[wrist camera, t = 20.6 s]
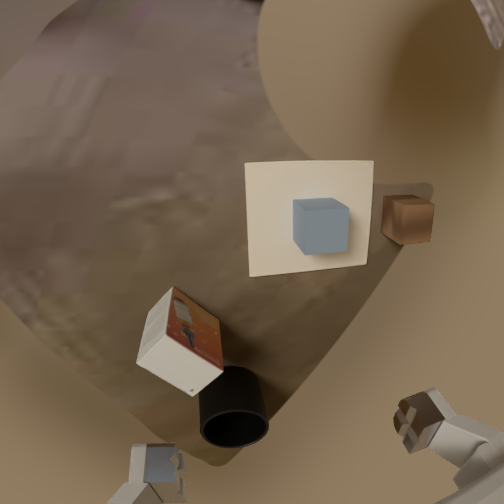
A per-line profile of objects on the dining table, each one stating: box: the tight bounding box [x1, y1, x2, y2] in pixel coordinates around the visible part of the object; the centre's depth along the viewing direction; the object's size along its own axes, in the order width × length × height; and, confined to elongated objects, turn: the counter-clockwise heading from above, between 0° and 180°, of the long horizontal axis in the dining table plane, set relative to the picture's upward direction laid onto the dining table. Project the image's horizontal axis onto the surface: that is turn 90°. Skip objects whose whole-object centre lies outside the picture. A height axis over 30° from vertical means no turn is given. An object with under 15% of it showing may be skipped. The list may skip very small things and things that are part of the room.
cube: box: [293, 198, 349, 255], centre depth 37 cm, size 5×5×5 cm
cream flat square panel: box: [245, 160, 374, 277], centre depth 39 cm, size 14×16×1 cm
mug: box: [199, 366, 269, 448], centre depth 44 cm, size 9×12×9 cm
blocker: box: [381, 195, 435, 245], centre depth 39 cm, size 5×5×5 cm
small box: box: [136, 286, 224, 397], centre depth 37 cm, size 8×6×10 cm
